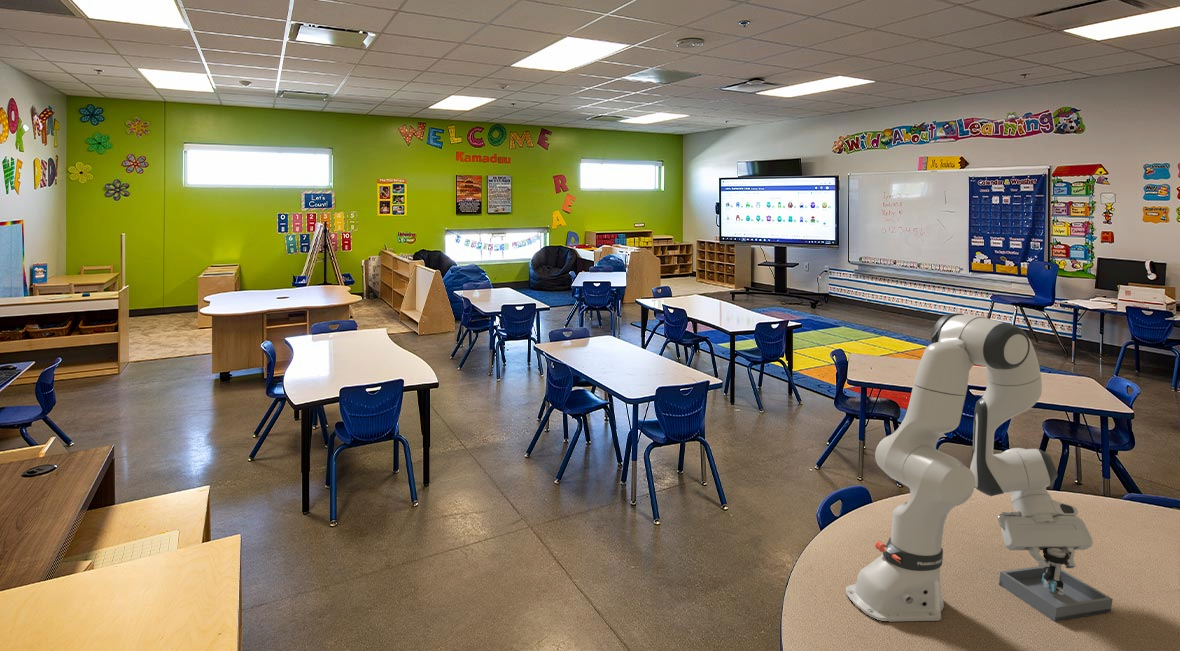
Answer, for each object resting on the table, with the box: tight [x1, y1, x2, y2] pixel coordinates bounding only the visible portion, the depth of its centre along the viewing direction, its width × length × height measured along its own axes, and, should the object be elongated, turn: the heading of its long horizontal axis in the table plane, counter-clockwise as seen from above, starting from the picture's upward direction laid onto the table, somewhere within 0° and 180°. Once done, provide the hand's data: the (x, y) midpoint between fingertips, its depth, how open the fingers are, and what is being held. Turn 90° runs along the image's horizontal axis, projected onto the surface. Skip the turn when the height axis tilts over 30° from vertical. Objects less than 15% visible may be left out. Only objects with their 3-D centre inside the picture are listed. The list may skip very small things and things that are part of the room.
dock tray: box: [998, 565, 1114, 622], centre depth 164 cm, size 16×16×4 cm
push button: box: [1042, 547, 1069, 595], centre depth 163 cm, size 7×5×10 cm
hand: (1058, 567), depth 162 cm, fingers closed on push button, 5 cm apart
